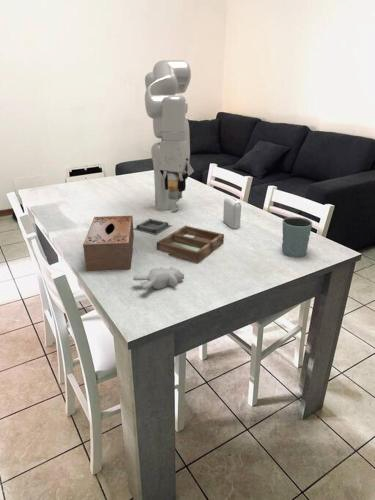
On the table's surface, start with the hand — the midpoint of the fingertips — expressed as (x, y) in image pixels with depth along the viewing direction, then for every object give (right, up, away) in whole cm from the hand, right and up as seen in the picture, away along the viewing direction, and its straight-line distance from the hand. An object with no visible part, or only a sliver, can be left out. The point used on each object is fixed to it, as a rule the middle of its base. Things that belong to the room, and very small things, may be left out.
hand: (175, 189), depth 129 cm
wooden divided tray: (+6, -20, +9) cm, 23 cm away
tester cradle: (-10, -13, +25) cm, 30 cm away
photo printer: (+23, -11, +30) cm, 39 cm away
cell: (0, -3, +1) cm, 3 cm away
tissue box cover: (-23, -23, +4) cm, 33 cm away
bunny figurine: (-4, -32, -16) cm, 36 cm away
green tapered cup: (+43, -22, +5) cm, 49 cm away
